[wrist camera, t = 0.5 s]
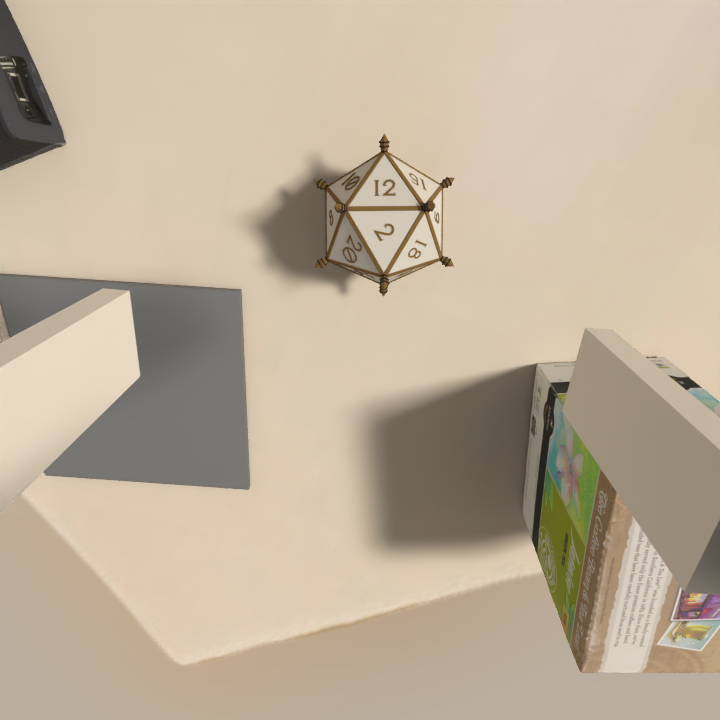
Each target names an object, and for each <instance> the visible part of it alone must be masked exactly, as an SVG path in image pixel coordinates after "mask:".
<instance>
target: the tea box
mask: <svg viewBox="0 0 720 720" xmlns="http://www.w3.org/2000/svg"><path fill="white" fill-rule="evenodd" d="M647 359H648V360H650V361H651V362H652V363H653V364H655V365H656V366H657V367H658V368H660V369H661V370H662V371H663V372H664V373H666V374H667V375H668V376H669V377H671V378H672V379H673V380H674V381H676V382H677V383H678V384H679V385H680V386H682V387H683V388H684V389H685V390H687V391H688V392H689V393H690V394H692V395H693V396H694V397H695V398H697V399H698V400H699V401H700V402H701V403H703V404H704V405H705V406H706V407H708V408H709V409H710V410H711V411H713V412H714V413H715V414H716V415H717V416H719V417H720V402H719V401H718V400H717V399H715V398H714V397H713V396H712V395H710V394H709V393H708V392H707V391H706V390H704V389H703V388H702V387H700V386H699V385H698V384H696V383H695V382H694V381H693V380H691V379H690V378H689V377H688V376H687V375H686V374H685V373H684V372H682V371H681V370H680V369H679V368H677V367H676V366H675V365H674V364H672V363H671V362H670V361H669V360H667V359H666V358H664V357H663V358H647ZM575 363H576V362H563V363H546V364H537V367H536V376H535V384H534V390H533V403H532V412H531V420H530V433H529V445H528V453H527V463H526V479H525V486H524V501H523V516H524V519H525V522H526V525H527V528H528V531H529V534H530V536H531V539H532V542H533V545H534V547H535V551H536V553H537V556H538V559H539V561H540V564H541V567H542V570H543V572H544V575H545V578H546V580H547V583H548V587H549V590H550V593H551V595H552V598H553V601H554V603H555V606H556V608H557V611H558V614H559V617H560V620H561V623H562V626H563V629H564V632H565V634H566V637H567V640H568V642H569V645H570V648H571V650H572V653H573V655H574V658H575V660H576V663H577V665H578V668H579V670H580V672H582V673H646V672H647V673H649V672H651V673H653V672H655V673H656V672H657V673H692V672H693V673H697V672H699V673H705V672H706V673H707V672H708V673H709V672H710V673H714V672H715V673H720V595H713V594H701V593H689V592H684V591H683V590H682V588H681V587H680V585H679V584H678V582H677V581H676V579H675V578H674V576H673V575H672V573H671V572H670V570H669V569H668V567H667V566H666V565H665V563H664V562H663V560H662V559H661V557H660V556H659V554H658V553H657V551H656V550H655V548H654V547H653V545H652V544H651V542H650V541H649V539H648V538H647V536H646V535H645V533H644V532H643V530H642V529H641V527H640V526H639V525H638V523H637V522H636V520H635V519H634V517H633V516H632V514H631V513H630V511H629V510H628V508H627V507H626V505H625V504H624V502H623V501H622V499H621V498H620V496H619V495H618V493H617V492H616V490H615V489H614V488H613V486H612V485H611V483H610V482H609V480H608V479H607V477H606V476H605V474H604V473H603V471H602V470H601V468H600V467H599V465H598V464H597V462H596V461H595V459H594V458H593V456H592V455H591V453H590V452H589V450H588V449H587V448H586V446H585V445H584V443H583V442H582V440H581V439H580V437H579V436H578V434H577V433H576V431H575V430H574V428H573V427H572V425H571V424H570V422H569V421H568V419H567V418H566V416H565V415H564V413H563V412H562V409H563V405H564V402H565V398H566V394H567V391H568V387H569V384H570V380H571V377H572V373H573V370H574V366H575Z"/></svg>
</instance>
